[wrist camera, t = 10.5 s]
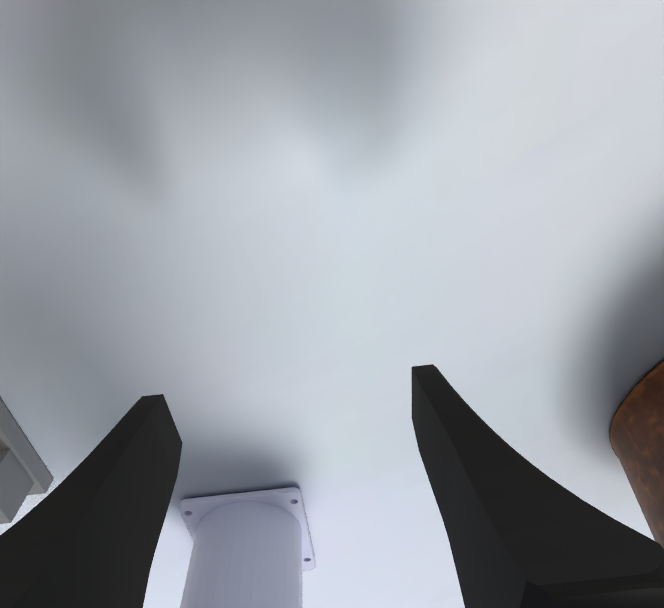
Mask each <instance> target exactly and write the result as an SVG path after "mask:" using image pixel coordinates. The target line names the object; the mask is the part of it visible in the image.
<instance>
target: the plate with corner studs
mask: <svg viewBox="0 0 664 608" xmlns="http://www.w3.org/2000/svg"><path fill="white" fill-rule="evenodd" d="M52 481H53V477H52V476H51V474H50V473H49V471H48V470H47V468H46V467H45V465H44V464H43V462H42V461H41V459H40V458H39V456H38V454H37V453H36V451H35V450H34V448H33V447H32V445H31V444H30V442H29V441H28V439H27V438H26V436H25V435H24V433H23V432H22V430H21V429H20V427H19V426H18V424H17V423H16V421H15V420H14V418H13V417H12V415H11V414H10V412H9V410H8V409H7V407H6V406H5V404H4V403H3V401H2V400H1V398H0V524H3V523H11V522H12V520H13V519H14V517H15V515H16V513H17V512H18V510H19V508H20V507H21V505H22V503H23V502H24V500H25V498H26V496H27V495H33V494H42V493H46V492H47V490H48V488H49V486H50V485H51V483H52Z"/></svg>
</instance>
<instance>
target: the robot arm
mask: <svg viewBox="0 0 664 608" xmlns="http://www.w3.org/2000/svg"><path fill="white" fill-rule="evenodd" d="M412 421H413V425H414V430H415V435H416V439H417V443H418V448H419V452H420V455H421V458H422V461H423V464H424V466H425V469H426V472H427V475H428V478H429V481H430V484H431V487H432V490H433V493H434V496H435V498H436V501H437V504H438V507H439V510H440V513H441V516H442V519H443V522H444V525H445V528H446V532H447V535H448V538H449V542H450V546H451V550H452V554H453V559H454V563H455V567H456V571H457V575H458V579H459V583H460V588H461V592H462V596H463V601H464V605H465V608H664V548H663V547H662V546H661V544H659V543H657V542H656V541H654V540H652V539H650V538H648V537H646V536H644V535H643V534H641V533H639V532H637V531H635V530H633V529H631V528H630V527H628V526H626V525H624V524H622V523H620V522H618V521H617V520H615V519H613V518H611V517H610V516H608V515H606V514H605V513H603V512H601V511H600V510H598V509H596V508H595V507H593V506H591V505H590V504H588V503H587V502H585V501H583V500H582V499H580V498H579V497H577V496H576V495H574V494H573V493H571V492H570V491H569V490H567V489H566V488H564V487H563V486H561V485H560V484H558V483H557V482H555V481H554V480H552V479H551V478H550V477H548V476H547V475H546V474H544V473H543V472H542V471H540V470H539V469H538V468H536V467H535V466H534V465H532V464H531V463H530V462H529V461H527V460H526V459H525V458H524V457H523V456H521V455H520V454H519V453H518V452H516V451H515V450H514V449H513V448H512V447H511V446H510V445H508V444H507V443H506V442H505V441H504V440H503V439H502V438H501V437H500V436H499V435H497V434H496V433H495V432H494V431H493V430H492V429H491V428H490V427H489V426H488V425H487V424H486V423H485V422H484V421H483V420H482V419H481V418H480V417H479V416H478V415H477V414H476V413H475V412H474V411H473V410H472V409H471V407H470V406H469V405H468V404H467V403H466V402H465V401H464V400H463V399H462V398H461V397H460V395H459V394H458V393H457V392H456V391H455V390H454V389H453V387H452V386H451V385H450V384H449V383H448V381H447V380H446V379H445V378H444V376H443V375H442V374H441V373H440V371H439V370H438V369H437V367H435V366H434V365H424V366H415V367H412ZM181 449H182V441H181V438H180V436H179V433H178V431H177V428H176V426H175V423H174V421H173V418H172V416H171V413H170V411H169V408H168V406H167V403H166V401H165V398H164V395H163V394H160V395H151V396H142V397H141V398H140V399H139V400H138V401H137V402H136V404H135V405H134V406H133V407H132V408H131V409H130V410H129V411H128V412H127V414H126V415H125V416H124V417H123V418H122V419H121V420H120V421H119V423H118V424H117V425H116V426H115V427H114V428H113V429H112V430H111V432H110V433H109V434H108V435H107V436H106V437H105V438H104V439H103V440H102V441H101V442H100V444H99V445H98V446H97V447H96V448H95V449H94V450H93V451H92V452H91V453H90V454H89V455H88V456H87V457H86V458H85V459H84V460H83V461H82V462H81V463H80V464H79V466H78V467H77V468H76V469H75V470H74V471H73V472H72V473H71V474H70V475H69V476H68V477H67V478H66V479H65V480H64V481H63V482H62V483H61V484H60V485H59V486H58V487H56V488H55V489H54V490H53V491H52V492H51V493H50V494H49V495H48V496H47V497H46V498H45V499H43V500H42V501H41V502H40V503H39V504H38V505H37V506H36V507H34V508H33V509H32V510H31V511H30V512H29V513H28V514H26V515H25V516H24V517H23V518H22V519H20V520H19V521H18V522H17V523H16V524H14V525H13V526H12V527H11V528H9V529H8V530H7V531H5V532H4V533H3V534H2V535H0V608H143V603H144V598H145V593H146V588H147V583H148V578H149V572H150V568H151V564H152V560H153V557H154V553H155V549H156V546H157V543H158V539H159V536H160V533H161V529H162V526H163V523H164V519H165V516H166V513H167V509H168V506H169V503H170V499H171V496H172V492H173V489H174V486H175V482H176V478H177V474H178V468H179V462H180V456H181ZM178 508H179V511H180V513H181V515H182V517H183V519H184V522H185V524H186V526H187V528H188V530H189V533H190V535H191V537H192V539H193V541H194V544H193V549H192V554H191V558H190V563H189V568H188V573H187V577H186V582H185V587H184V592H183V596H182V601H181V606H180V608H302V571H308V570H312V569H314V568H315V566H316V565H315V557H314V553H313V548H312V543H311V538H310V534H309V529H308V524H307V520H306V515H305V510H304V505H303V501H302V496H301V491H300V490H299V489H298V488H295V487H290V488H281V489H272V490H263V491H254V492H245V493H235V494H226V495H217V496H208V497H199V498H190V499H183V500H181V501H180V503H179V507H178Z"/></svg>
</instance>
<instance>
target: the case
mask: <svg viewBox="0 0 664 608" xmlns="http://www.w3.org/2000/svg"><path fill="white" fill-rule="evenodd" d="M610 440H611V445H612V448H613V450H614V452H615V454H616V455H617V457H618V458H619V459H620V462H621V464H622V466H623V468H624V471H625V473H626V475H627V478H628V480H629V482H630V485H631V487H632V489H633V492H634V494H635V496H636V498H637V501H638V503H639V505H640V507H641V510H642V512H643V514H644V517H645V519H646V521H647V523H648V526H649V528H650V530H651V532H652V535H653V537H654V539H655V541H656V542H657V543H659V544H661V546H662V547H663V548H664V361H662V362H661V363H660V364H658V365H657V366H656V367H655V368H654V369H652V370H651V371H650V372H649V373H648V374H647V375H646V376H645V377H644V378H643V379H642V380H641V381H640V382H639V383H638V384H637V385H636V386H635V387H634V389H633V390H632V391H631V392H630V393H629V395H628V396H627V397H626V398H625V400H624V401H623V403H622V404H621V406H620V407H619V409H618V411H617V412H616V414H615V416H614V419H613V422H612V426H611V431H610Z"/></svg>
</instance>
